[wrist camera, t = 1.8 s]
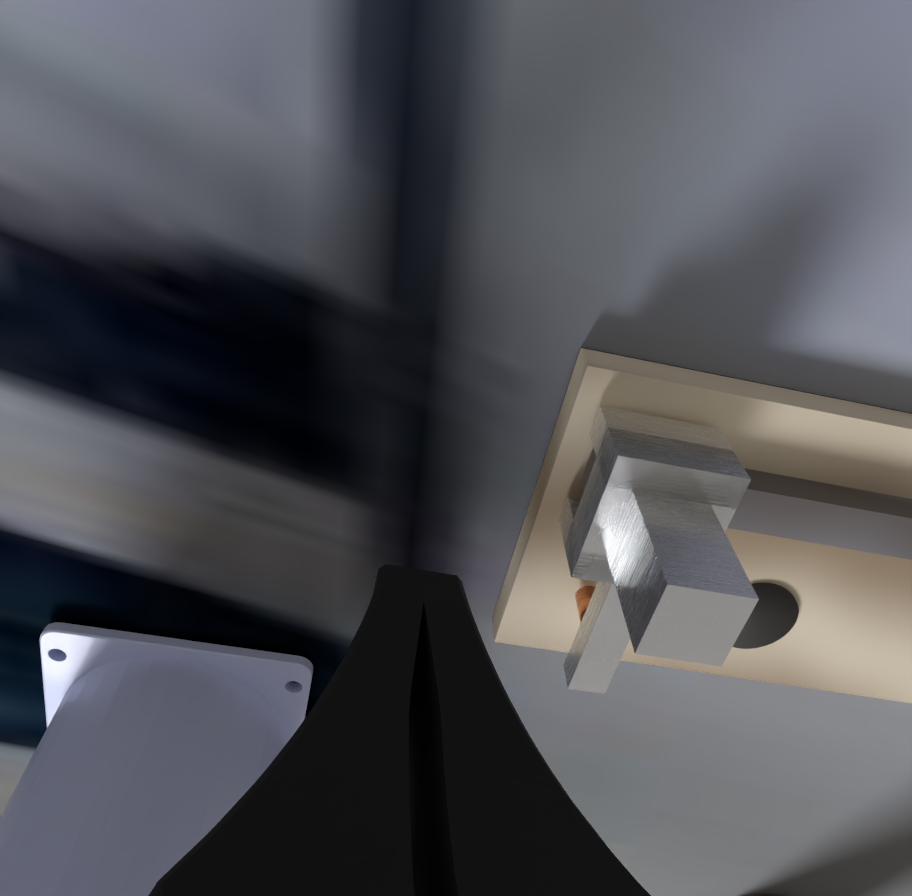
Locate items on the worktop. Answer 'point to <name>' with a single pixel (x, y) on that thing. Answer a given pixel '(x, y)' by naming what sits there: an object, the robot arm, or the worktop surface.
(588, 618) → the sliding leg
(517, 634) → the board
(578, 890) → the robot arm
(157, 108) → the worktop surface
